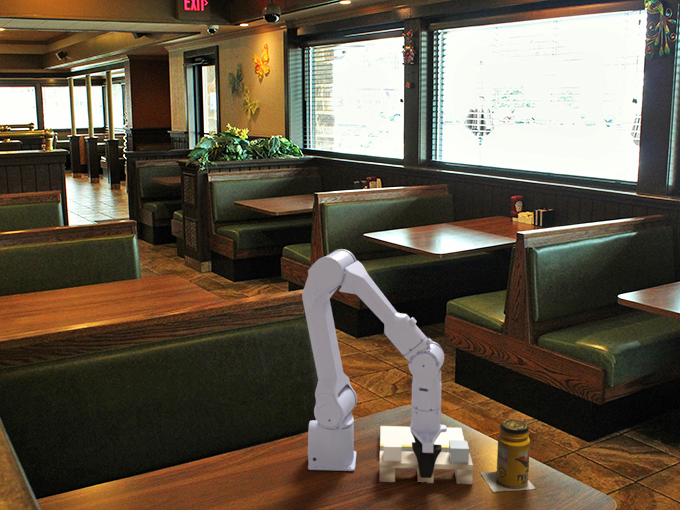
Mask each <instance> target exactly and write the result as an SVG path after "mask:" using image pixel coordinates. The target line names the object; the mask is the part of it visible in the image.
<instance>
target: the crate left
mask: <svg viewBox="0 0 680 510" xmlns="http://www.w3.org/2000/svg"><path fill="white" fill-rule="evenodd" d="M401 455H402V445H401V439H384V461H401Z"/></svg>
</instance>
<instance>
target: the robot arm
mask: <svg viewBox="0 0 680 510" xmlns="http://www.w3.org/2000/svg"><path fill="white" fill-rule="evenodd" d="M307 274H308V276H307V278H306V281H305V285H304V287H303V290H302V295H301V297H302V298H301V299H302V304H303V308H304V314H305V318H306V319H305V320H306V324H307V328H308V333H309V340H310V344H311V350H312V355H313V359H314V365H315V369H316V375H317V384H316V388H315V391H314V397H315V405H314V408H313V415H314V417H315V420H313V419H312V420H310V421H309V423H308V431H307V435H308V436H307V457H308V459H307V460H308V462H307V463H308V465H307V469H308V470H309V471H338V472H339V471H342V472H343V471H344V472H347V471H348V472H354V471H355V470H356V463H357V461H356V460H357V451H356V450H354V449H355V447H354V446H355V443H354V442H355V440H354V439H355V438H354V437H355V433H354V431H355V428H354V427H355V425H354V424H355V423H354V422H355V421H354V416H353V411H352V410H354V409H355V407H356V406H357V403H358V395H357V393H356V391H355V390H354V388H353V387H352V385H351V381H350V377H349V376H348V375H346V373H345V372H344V369H343V363H342V359H341V358H342V357H341V353H340V348H339V341H338V336H337V331H336V326H335V320H334V316H333V311H332V310H333V309H332V305H331V300H330V299H331V298H332V296H333V295H334V293H335V292H337V289H338V288H339V287H340V286H341V287H340V289H339V290H338V291H339V292H340V293H346V294H352V295H353V294H354V295H356V296H357V297H358V298H359V299H360V300H361V301H362V302H363V303H364V304H365V305H366V306H367V307H368V308H369V310H371V312H372V313H373V314H374V315H375V316H376V317H377V318H378V319H379V320H380V321H381V322H382V323H383V324H384V329H383V330H384V331H383V334H384V335H385V336H386V337H387V339H389V340H390V342H391V343H392V344H393V345H394V347H395V348H396V350H398V352H400V353H401V355H402V356H403V357H404V358H405V359H406V360H407V361H408V362H409V363H407V364H408V365H407V366H408V369H409V372H410V374H411V375H412V382H411V417H410V418H411V420H410V421H411V423H410V426H409V427H410V430H411V433H412V435H413V437H414V440H415V442H412V449H413V451H414V453H415V455H416V458H417V461H418V466H419V473H420V476H421V478H431V477H432V474H433V470H434V471H435V469H434V465H435V462H436V459H437V457H438V455H439V454H440V452H441V450H442V447H441V445H434V442H435V441H436V439H437V438H438V436H439V435H440V433H441V432H446V431H447V425H445V424H442V418H441V417H442V388H443V387H442V385H443V384H442V370H441V368H442V366H443V364H444V361H445V353H444V352H445V351H444V350H443V349H442V347H441V344H439V343H438V342H435V341H433V340H432V338H430V337H428V336H426V335H425V333H424V332H422V330H421V329H420V328H419V326H417V324H416V323H417V320H416V319H415V317H413V316H412V317H411V318H410V316H409V315H408V314H407V313H403V312H401V313H400V312H398V311H397V310H396V309H395V307H394V306H393V305H392V304H391V302H390V301H389V300H388V298H387V297H386V296H385V295H384V293H383V292H382V291H381V290H380V288H379V286H378V285H377V284H376V283H375V282H374V280H373V278H372V277H371V276H370V275H369V273H368V272H367V270H366V268H365V266H364V265H363V264H362V263H361V262H360V261H359V260H357V259H356V257H355V255H354V253H352V252H351V251H349V250H347V249H343V248H340V249H336V250H333V251H332V252H330V253H329V254H327V255H326V256H323V257H320V258H318V259H316V261H315V262H314V263H313V264H312V265H311V266H310V268H308V269H307Z"/></svg>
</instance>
